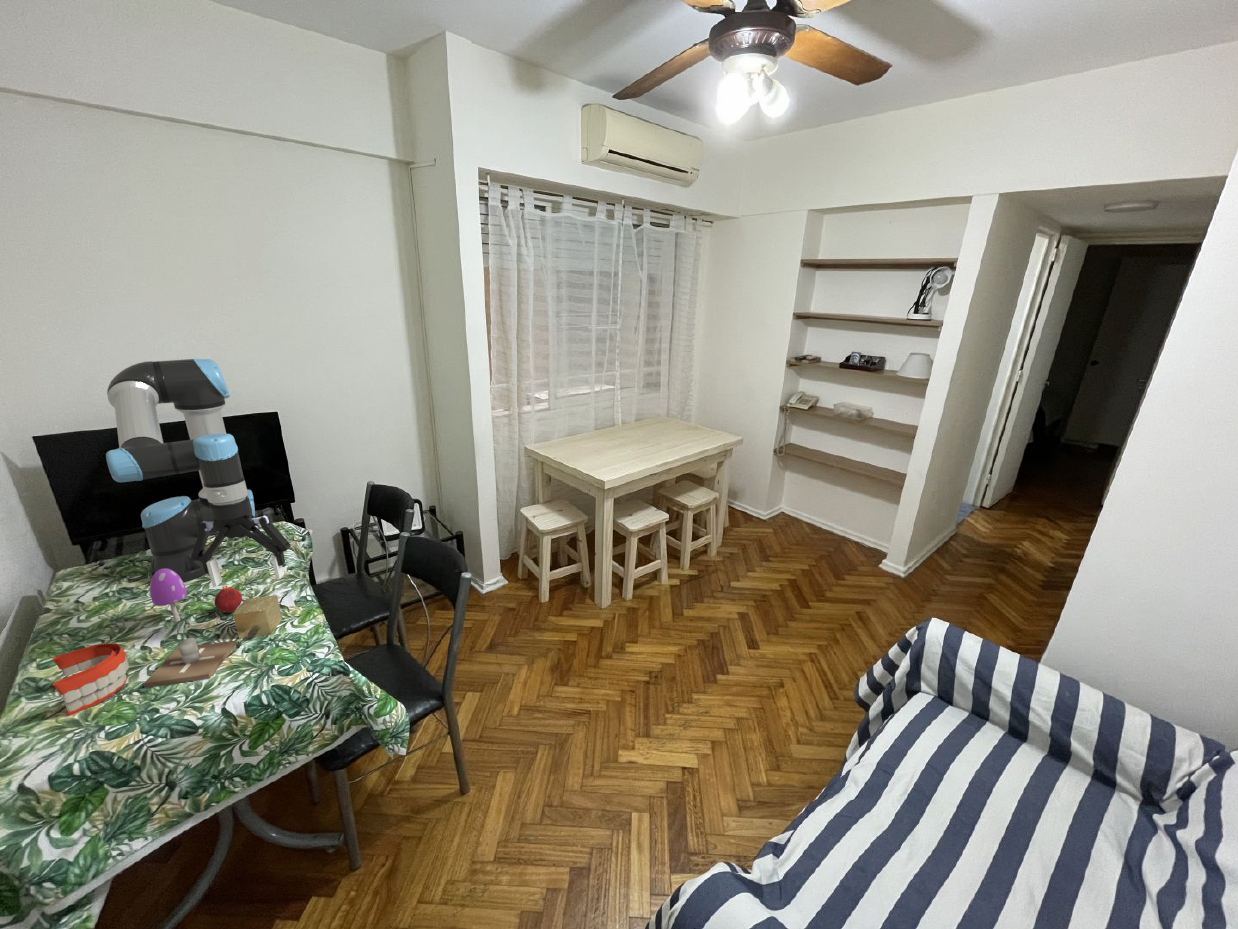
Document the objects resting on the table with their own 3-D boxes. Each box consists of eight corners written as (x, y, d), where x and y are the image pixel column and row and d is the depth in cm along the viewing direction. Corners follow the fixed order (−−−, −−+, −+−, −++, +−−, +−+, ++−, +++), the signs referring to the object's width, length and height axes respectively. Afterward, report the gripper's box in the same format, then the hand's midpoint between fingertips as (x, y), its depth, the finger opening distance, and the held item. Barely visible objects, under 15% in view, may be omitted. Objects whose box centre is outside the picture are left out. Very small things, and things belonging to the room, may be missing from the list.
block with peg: (255, 618, 130) (249, 595, 128) (284, 614, 131) (279, 591, 129) (236, 642, 120) (229, 617, 118) (268, 638, 122) (262, 613, 120)
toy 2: (174, 629, 125) (158, 577, 121) (153, 626, 126) (136, 574, 122) (200, 614, 131) (185, 564, 127) (180, 611, 133) (165, 562, 128)
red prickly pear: (249, 609, 133) (242, 583, 131) (224, 620, 129) (216, 594, 126) (238, 603, 136) (232, 578, 134) (214, 614, 132) (206, 588, 129)
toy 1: (137, 690, 105) (126, 659, 103) (66, 719, 98) (52, 686, 95) (131, 664, 113) (120, 634, 111) (65, 688, 106) (52, 657, 103)
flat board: (178, 652, 117) (171, 630, 115) (236, 644, 119) (230, 622, 118) (145, 688, 106) (136, 664, 104) (209, 678, 108) (202, 655, 106)
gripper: (156, 511, 109) (181, 595, 115) (282, 500, 115) (300, 581, 121) (176, 499, 116) (199, 579, 122) (294, 490, 122) (310, 567, 128)
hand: (249, 580), depth 121 cm, fingers open, 13 cm apart
